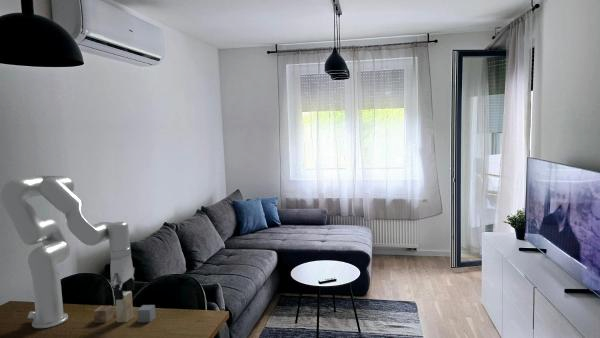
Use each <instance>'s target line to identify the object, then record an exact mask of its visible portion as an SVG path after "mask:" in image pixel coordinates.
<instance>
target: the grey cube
mask: <svg viewBox="0 0 600 338" xmlns="http://www.w3.org/2000/svg"><path fill="white" fill-rule="evenodd" d="M156 316H157V315H156V305H155V304H142V305H141V306H140V307H139V308H138V309H137V323H151V322H152V321H153V320H154V319H155V318H156Z"/></svg>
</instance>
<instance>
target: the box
mask: <svg viewBox="0 0 600 338" xmlns="http://www.w3.org/2000/svg"><path fill="white" fill-rule="evenodd" d="M132 291H133V290H130V291H127V290H123V299H122V300H115V313H116V322H117V323H128V322H129V321H131V320H132V319H133V318H134V306H133V292H132Z"/></svg>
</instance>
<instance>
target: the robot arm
mask: <svg viewBox="0 0 600 338" xmlns="http://www.w3.org/2000/svg"><path fill="white" fill-rule="evenodd" d="M74 190H75V183H74V182H73V179H71V178H70V177H68V176H65V175H29V176H21V177H15V178H12V179H10V180H9V181H6V183H4V184H3V186H2V187H1V189H0V202H1V205H2V207H3V208H4V210H5V211H6V214H7V215H8V217H9V219H10V220H11V223H12V224H13V226H14V229H15V230H16V232H17V234H18V236H19V238H20V240H21V241H22V242H23V244H25V245H27V246H32V245H33V246H34V245H36V244H37V245H38V244H40V243H41V244H42V245H39V246H37V247H36V248H34V249H32V250H31V252H30V253H29V254H28V256H27V265H28V267H29V271H30V274H31V279H32V280H31V281H32V289H33V299H34V310H35V311H33V310H32V311H29V313H28V315H27V318H28V319H33V321H32V323H31V326H32V327H33V328H34V329H47V328H52V327H55V326H58V325H61V324H62V323H65V322H66V321H67V320H68V319H69V315H68V313H66V312H64V306H63V305H64V304H63V303H64V302H63V295H62V284H61V282H62V281H61V275H60V272H59V270H58V269H57V266H56V265H58V264H60V263H63V262H64V261H66V260H67V259H68V258H69V257H70V254H71V247H70V244H69V242H68V241H67V238H66V237H65V234H64V233H63V231H62V228H61V227H60V225H59V224H58V222H57V221H56V220H54V218H52V217H48V216H47V217H45V216H44V217H39V216H38V214H37V212H36V210H35V209H34V207H33V206H32V205H31V204H30V203H29V202H28V201H27V199H28V198H32V197H37V196H41V197H43V198H44V199H45V200H47V202H48V203H50V204H51V205H52V206H53V207H54V208H55V209H56V210H57V211H58V212H59V213H61V215H63V217H64V220H65V224H66V226H67V228H68V230H69V231H70V233H71V234H72V235H73V236H75V238H76V239H77V240H79V242H81V243H82V244H85V246H89V247H94V246H96V245H98V244H100V243H103V242H106V241H108V243H109V245H108V246H109V253H110V266H109V267H110V285H111V288H112V291H113V293H114V294H113V296H114V301H116V300H122V299H123V291H124V290H123V289H122V288H123V284H124V283H125V286H126V291H135V290H136V288H135V277H134V276H135V269H136V268H135V267H134V265H133V259H132V250H131V242H130V241H131V240H130V232H129V231H130V230H129V224H128V223H127V222H126V221H115V222H109V221H103V222H98V223H94V224H93V225H92V224H91V223H89V221H87V220H86V218H84V216H83V214H82V211H81V209H82V207H83V205H84V203H83V200H82V199H81V198H80V197H79V196H78V195H77V194H76V193H74Z"/></svg>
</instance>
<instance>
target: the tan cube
mask: <svg viewBox="0 0 600 338" xmlns="http://www.w3.org/2000/svg"><path fill="white" fill-rule="evenodd" d="M93 318H94V319H93V320H94V323H95V324H102V323H103V324H104V323H105V324H107V323H108V322H110V321H111V320H112V319H113V318H114V312H113V305H100V306H99V307H97V308H96V309H95V310H93Z"/></svg>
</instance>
